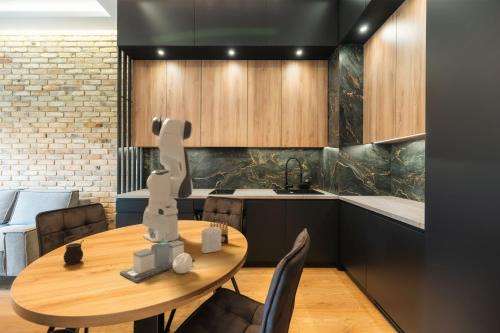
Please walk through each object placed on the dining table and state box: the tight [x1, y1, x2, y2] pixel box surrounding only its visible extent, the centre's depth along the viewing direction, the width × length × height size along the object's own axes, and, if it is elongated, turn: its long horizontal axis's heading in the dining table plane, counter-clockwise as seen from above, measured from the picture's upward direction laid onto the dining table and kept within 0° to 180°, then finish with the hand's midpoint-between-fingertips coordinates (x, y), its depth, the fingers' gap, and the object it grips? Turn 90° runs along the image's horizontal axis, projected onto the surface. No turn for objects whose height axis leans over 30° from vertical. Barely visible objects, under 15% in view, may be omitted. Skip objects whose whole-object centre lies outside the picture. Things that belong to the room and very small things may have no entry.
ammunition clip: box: [210, 221, 229, 245], centre depth 144 cm, size 11×2×12 cm, turn 83°
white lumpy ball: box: [172, 252, 193, 275], centre depth 103 cm, size 8×8×8 cm
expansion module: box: [150, 242, 169, 267], centre depth 108 cm, size 4×6×8 cm, turn 144°
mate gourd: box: [63, 239, 85, 265], centre depth 111 cm, size 7×8×10 cm
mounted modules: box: [132, 240, 185, 273], centre depth 108 cm, size 5×21×7 cm, turn 144°
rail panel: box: [119, 257, 195, 284], centre depth 108 cm, size 12×28×2 cm, turn 144°
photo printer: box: [201, 226, 222, 254], centre depth 129 cm, size 10×4×12 cm, turn 123°
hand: (158, 240), depth 108 cm, fingers open, 8 cm apart
